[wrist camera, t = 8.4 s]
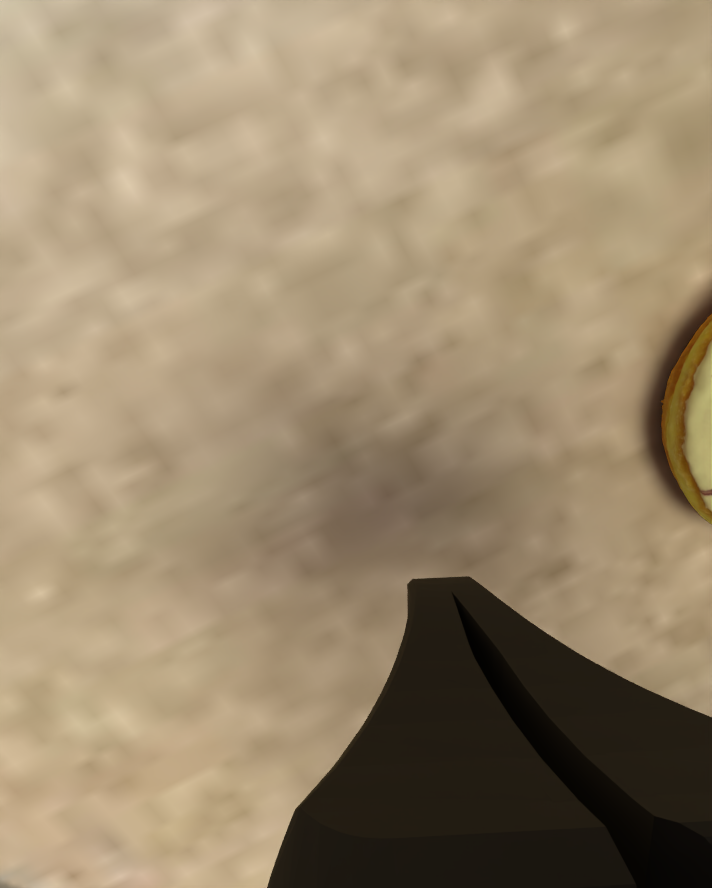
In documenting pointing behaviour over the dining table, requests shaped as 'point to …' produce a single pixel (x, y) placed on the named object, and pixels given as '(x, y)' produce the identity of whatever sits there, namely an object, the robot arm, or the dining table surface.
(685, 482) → the decorated donut
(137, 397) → the dining table surface
